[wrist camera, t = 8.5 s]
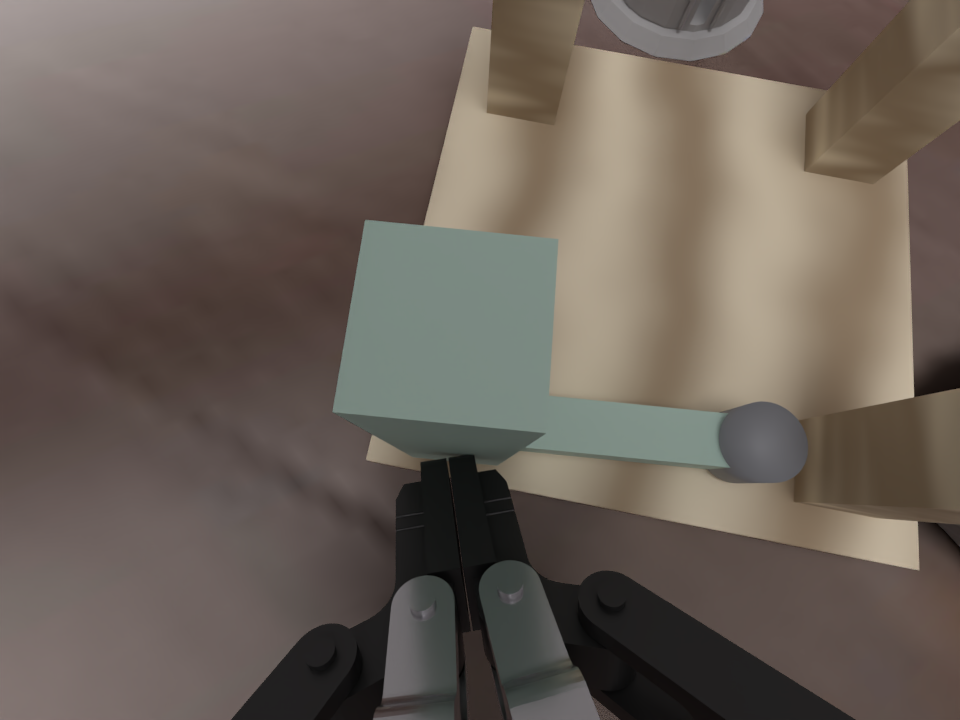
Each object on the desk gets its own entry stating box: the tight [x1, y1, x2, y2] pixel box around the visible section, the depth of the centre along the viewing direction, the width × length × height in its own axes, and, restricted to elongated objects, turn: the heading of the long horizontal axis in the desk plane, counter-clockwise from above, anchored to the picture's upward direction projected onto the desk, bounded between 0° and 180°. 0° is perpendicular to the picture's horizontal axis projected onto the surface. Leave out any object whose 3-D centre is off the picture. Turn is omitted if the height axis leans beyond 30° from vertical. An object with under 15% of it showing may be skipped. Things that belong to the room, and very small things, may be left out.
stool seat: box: [366, 0, 960, 570], centre depth 16 cm, size 20×20×14 cm
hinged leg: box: [333, 220, 808, 483], centre depth 13 cm, size 13×3×11 cm, turn 85°
